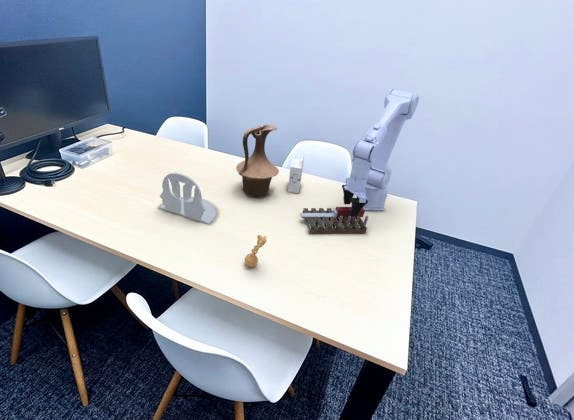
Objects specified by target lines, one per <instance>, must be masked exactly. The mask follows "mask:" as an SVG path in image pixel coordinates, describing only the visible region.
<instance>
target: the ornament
mask: <svg viewBox="0 0 574 420" xmlns="http://www.w3.org/2000/svg"><path fill="white" fill-rule="evenodd" d="M180 183H181V184H184V185H183V186H182V197H181V185H180ZM170 186H171V188H170ZM193 187H194V190H193V193H194V194H193V197H192V189H193ZM161 188H162V192H161V193H160V194H159V198H160V199H162V200H161V202H162V204H161V205H159V207H158V209H160V210H163V211H166V212H169V213H172V214H175V215H178V216H182V217H184V218H187V219H190V220H194V221H197V222H200V223H203V224H207V225H211V224H212V223H213V222H214V220H215V219H216V217H217V209H216V208H215V206H214V205H213V204H212V203H211V202H209V201H208V200H205V199H203V195H202V192H201V189H200V187H199V185H198V184H197V183H196V181H195V180H194V179H192V177H190V176H188V175H185V174H183V173H178V172H171V173H168V174H166V176H164V177H163V180H162V185H161Z"/></svg>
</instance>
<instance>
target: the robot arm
mask: <svg viewBox="0 0 574 420" xmlns="http://www.w3.org/2000/svg"><path fill="white" fill-rule="evenodd" d="M419 100H420V95H419V93H413V92H408V91H402V90H399V89H395V88H391V89H389V90H388V92H386V95H385V98H384V103H383V104H384V105H383V106H384V107H383V108H384V110H383V111H382V113H381V115H380V117H379V119H378V121H377V122H376V123H372V125H370V127H369V129H368V130H367V132H366V133H365V134H364V136H363V138H362V139H361V140H357V141H356V143H355V144H354V146H353V150H352V159H351V161H352V166H351V169H350V175H349V177H346V178H345V184H342V185H341V187H342V188H341V189H342V193H343V205H351V206H350V207H351V216H357V215H358V214H359V212H360V210H361V209H362V208H364V210H365V211H384V210H385V209H384V207H385V204H386V201H387V196H388V189H387V186H388V184H389V182H390V179H391V175H392V168H391V167H390V166H389V164H388V163H389V159H390V158H391V155H392V152H393V150H394V148H395V145H396V143H397V141H398V138H399V136H400V133H401V131H402V128H403V126H404V124H405V123H406V121H408V120H411V119H412V118H413V116H414V114H415V112H416V110H417V107H418V105H419ZM354 196H355V197H354Z"/></svg>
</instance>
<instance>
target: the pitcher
mask: <svg viewBox="0 0 574 420" xmlns="http://www.w3.org/2000/svg"><path fill="white" fill-rule="evenodd" d="M276 130H278V127H277V126H275V125H271V124H264V125H258V126H254V127H251V128H249V129H246V131H245V132H244V133H243V135H242V136H243V137H242V147H243V152H244V153H243V154H244V160H242V161H241V162H239V163H237V165H236V167H235V169H236V171H237V173H238V175H239V176H241V181H242V192H243V193H244V195H246V196H248V197H252V198H263V197H265V196H267V195H268V194H269V190H270V185H271V182H272V179H273V177H276V176H277V175H278V174H279V172H280V170H279V168H278V167H277V166H276V165H275V164H273V163H272V162H271V161H270V160H269V159H268V157H267V154H266V149H265V146H266V140H267V137H268V135H269V134H270V133H271V132H274V131H276ZM251 135H252V137H253V138H254V140H255V144H254V150H253V152H252V153H251V155H250V156H249V146H248V139H249V136H251Z"/></svg>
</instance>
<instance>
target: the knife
mask: <svg viewBox="0 0 574 420" xmlns="http://www.w3.org/2000/svg"><path fill="white" fill-rule="evenodd" d="M351 207H352V206H335V208H336V209H335V208H332V211H333V212H332V213H303V212H300V213H299V214H300V216H301V218H306V217H312V218H314V216H317V217H320V218H323V216H325V217H328V218H331V216H334V218H339V217H340V216H343V217H344V218H347V217H349V216H351ZM365 211H366V210H364V208H362V209H361V210H360V212H359V214H358V215H357V216H360V218H364V214H365ZM357 216H351V217H352V218H354V217H357Z"/></svg>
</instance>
